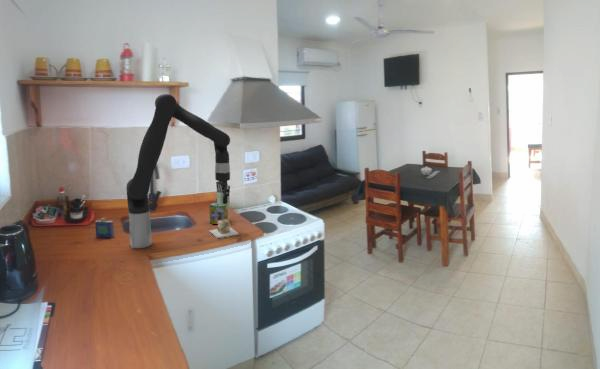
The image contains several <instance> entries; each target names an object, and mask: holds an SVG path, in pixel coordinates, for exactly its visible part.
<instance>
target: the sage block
mask: <svg viewBox="0 0 600 369" xmlns="http://www.w3.org/2000/svg"><path fill="white" fill-rule="evenodd" d="M216 199H217V201H216V202H217V204H219V205H220V206H223V205H228V206H229V205H230V200H231V199H230V195H229V196H228V197H227V204H223V194H222V193H221V192H219V193H217V192H216Z"/></svg>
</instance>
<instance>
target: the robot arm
mask: <svg viewBox="0 0 600 369" xmlns="http://www.w3.org/2000/svg"><path fill="white" fill-rule="evenodd" d="M154 106H155V110H154V114H153V116H152V120H151V123H150V124H149V126H148V128H147V130H146V132H145V134H144V137H143V139H142V143H141V145H140V148H139V151H138V152H139V153H138V159H137V165H136V170H135V173H134V174H133V177H132V178H131V179H130V180H128V182H127V183H126V199H127V208H128V221H129V222H128V223H129V227H128V229H129V230H128V231H129V242H130V243H129V245H130V247H131V249H133V250H134V249H144V248H148V247H150V246H152V244H153V243H152V230H151V229H152V228H151V213H150V212H151V211H150V210H151V209H150V204H149V192H150V188H151V187H150V186H151V182H152V177H153V174H154V171H155V169H156V167H157V164H158V161H159V159H160V156H161V153H162V151H163V148H164V145H165V141H166V137H167V133H168V130H169V125H170V122H171V121H172V118H174V119H175V120H178V121H180V123H183V125H186V126H187V127H189V128H190V129H192V130H193V131H195V132H196V133H198V134H199V135H201V136H203V137H205V138H207V139H208V140H210V141H212V142H213V147H214V151H215V157H214V158H215V163H214V174H215V176H214V178H215V181H216V182H215V184H216V185H215V186H216V194H217V193H219V192H221V193H222V194H223V204H227V197H228V196H229V197H230V192H231V190H230V189H231V185H228V181H230V180H231V168H230V167H231V166H230V153H229V151H228V146H229V145H230V143H231V137H230V136H229V135H228V134H227V133H226V132H225V131H223V130H221V129H219V128H217V127H215V126H214V125H212V123H210V122H208V121H206V120H205V119H204V118H202V117H199V115H196V114H194V113H192V112H190V111H189V110H187V109H186V108H184V107H183V106H181V105H180V104H179V103H178V102H177V99H176V98H175V97H174V96H173V95H172V94H169V93H163V94H160V95H158V96H157V97H156V98H155V102H154Z"/></svg>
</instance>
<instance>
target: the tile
mask: <svg viewBox="0 0 600 369" xmlns="http://www.w3.org/2000/svg"><path fill="white" fill-rule="evenodd" d="M208 232H211V233H212V234H213V235H214V236H215V237H216V238H221V239H224V238H223V237H227V238H230V237H229V236H233V235H238V234H239V232H238V231H236V230H234V228H232V227H231V226H230V233H224V234H221V233H219V232H218V228H215V229H209V231H208ZM211 233H210V234H211ZM212 234H211V235H212ZM213 235H212V236H213ZM239 235H240V234H239ZM239 235H238V236H239ZM214 236H213V237H214ZM215 237H214V238H215ZM233 237H234V236H233ZM216 238H215V239H216Z"/></svg>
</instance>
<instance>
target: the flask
mask: <svg viewBox="0 0 600 369" xmlns="http://www.w3.org/2000/svg"><path fill="white" fill-rule="evenodd" d="M106 218H107V217H102V218H101V219H97V220H95V222H94V224H95V236H96V238H97V239H101V240H102V239H105V240H106V239H108V240H110V239H111V240H112V239H114V238H115V230H114V221H113V220H106Z"/></svg>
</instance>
